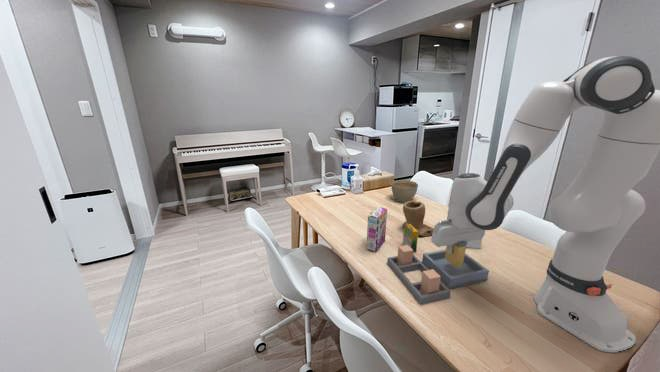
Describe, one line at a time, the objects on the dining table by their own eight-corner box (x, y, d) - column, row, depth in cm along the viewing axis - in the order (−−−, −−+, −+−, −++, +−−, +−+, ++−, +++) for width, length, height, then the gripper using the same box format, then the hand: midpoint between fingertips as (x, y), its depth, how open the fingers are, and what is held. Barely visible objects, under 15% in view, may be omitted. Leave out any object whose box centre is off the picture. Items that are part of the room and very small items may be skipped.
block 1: (411, 268, 102) (413, 250, 100) (402, 269, 101) (403, 251, 99) (405, 262, 106) (407, 244, 103) (397, 263, 105) (398, 246, 102)
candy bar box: (376, 253, 113) (378, 218, 107) (366, 249, 115) (367, 215, 110) (385, 241, 122) (387, 208, 116) (375, 238, 124) (377, 206, 119)
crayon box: (416, 251, 113) (419, 227, 109) (410, 252, 112) (412, 228, 109) (408, 243, 120) (410, 219, 116) (402, 243, 119) (404, 220, 115)
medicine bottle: (480, 248, 114) (485, 224, 110) (462, 247, 116) (466, 222, 112) (475, 240, 121) (479, 216, 117) (458, 239, 122) (462, 215, 118)
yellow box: (462, 266, 97) (466, 242, 94) (455, 267, 96) (459, 243, 93) (451, 256, 102) (454, 234, 99) (444, 258, 102) (448, 235, 98)
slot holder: (449, 297, 87) (450, 291, 87) (420, 304, 85) (421, 298, 84) (411, 258, 108) (412, 253, 108) (387, 263, 106) (387, 257, 105)
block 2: (437, 296, 88) (440, 276, 85) (427, 299, 87) (429, 278, 84) (430, 288, 91) (432, 269, 89) (420, 290, 90) (422, 271, 88)
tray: (487, 280, 95) (489, 270, 94) (449, 288, 91) (450, 279, 90) (455, 255, 110) (457, 247, 108) (422, 262, 106) (423, 253, 104)
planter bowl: (400, 193, 179) (401, 178, 175) (421, 200, 167) (423, 184, 163) (385, 199, 169) (385, 183, 166) (406, 207, 157) (407, 190, 154)
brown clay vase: (395, 228, 133) (397, 200, 128) (412, 222, 139) (414, 195, 134) (420, 241, 121) (423, 211, 116) (437, 234, 127) (440, 205, 122)
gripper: (441, 226, 88) (436, 261, 92) (491, 217, 93) (484, 251, 97) (429, 218, 93) (425, 251, 98) (477, 210, 99) (471, 243, 103)
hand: (455, 251), depth 98 cm, fingers closed on yellow box, 3 cm apart
